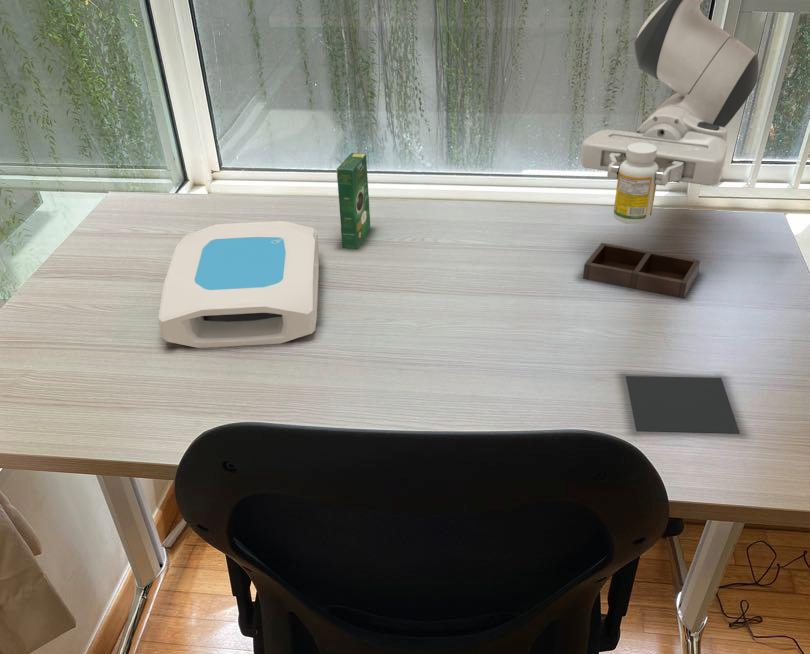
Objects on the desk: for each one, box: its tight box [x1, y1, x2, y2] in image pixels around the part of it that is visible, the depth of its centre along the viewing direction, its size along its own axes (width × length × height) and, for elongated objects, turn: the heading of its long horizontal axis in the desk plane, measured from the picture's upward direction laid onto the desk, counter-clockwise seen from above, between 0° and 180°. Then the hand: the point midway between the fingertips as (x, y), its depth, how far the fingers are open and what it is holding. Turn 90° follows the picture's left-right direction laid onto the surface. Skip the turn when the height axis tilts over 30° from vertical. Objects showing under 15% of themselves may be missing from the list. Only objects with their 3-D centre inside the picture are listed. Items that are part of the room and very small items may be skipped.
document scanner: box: [157, 220, 320, 349], centre depth 130 cm, size 21×28×6 cm
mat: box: [625, 375, 741, 435], centre depth 108 cm, size 12×12×1 cm
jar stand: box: [582, 242, 701, 299], centre depth 132 cm, size 15×8×3 cm, turn 63°
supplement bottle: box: [613, 143, 659, 225], centre depth 122 cm, size 5×5×10 cm
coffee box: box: [336, 152, 371, 250], centre depth 142 cm, size 8×3×13 cm, turn 165°
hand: (636, 176), depth 120 cm, fingers closed on supplement bottle, 5 cm apart
